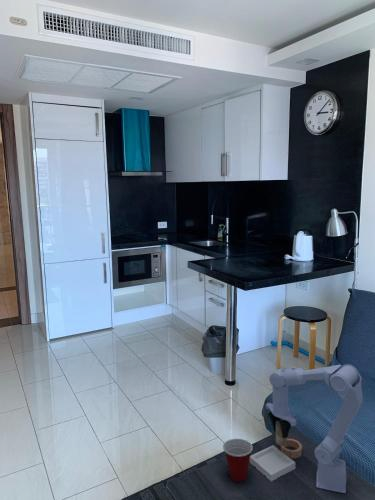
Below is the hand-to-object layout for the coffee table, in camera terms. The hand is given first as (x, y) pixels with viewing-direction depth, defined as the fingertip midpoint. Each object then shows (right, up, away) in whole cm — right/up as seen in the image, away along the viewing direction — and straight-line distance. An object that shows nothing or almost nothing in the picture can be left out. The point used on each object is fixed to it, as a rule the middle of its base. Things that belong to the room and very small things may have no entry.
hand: (280, 433), depth 145 cm
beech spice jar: (0, -3, 0) cm, 4 cm away
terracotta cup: (+5, -10, +5) cm, 12 cm away
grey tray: (-4, -11, -2) cm, 12 cm away
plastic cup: (-17, -12, -7) cm, 22 cm away
